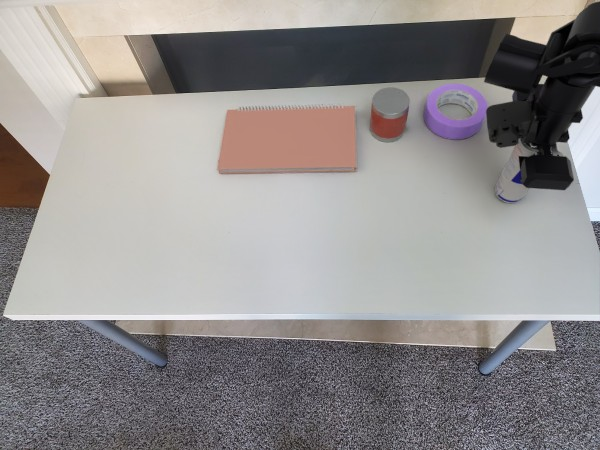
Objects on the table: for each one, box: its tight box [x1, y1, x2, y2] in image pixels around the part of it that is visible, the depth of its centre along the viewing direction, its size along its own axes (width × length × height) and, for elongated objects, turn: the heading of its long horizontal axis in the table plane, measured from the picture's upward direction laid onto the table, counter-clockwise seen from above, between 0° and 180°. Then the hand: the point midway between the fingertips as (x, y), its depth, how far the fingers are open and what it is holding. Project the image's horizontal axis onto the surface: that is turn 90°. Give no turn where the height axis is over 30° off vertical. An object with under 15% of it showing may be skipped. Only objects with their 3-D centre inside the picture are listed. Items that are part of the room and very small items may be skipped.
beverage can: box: [494, 137, 538, 204], centre depth 74 cm, size 5×5×15 cm
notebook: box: [216, 103, 358, 175], centre depth 91 cm, size 27×17×2 cm, turn 88°
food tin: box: [369, 86, 411, 143], centre depth 87 cm, size 7×7×8 cm
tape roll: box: [423, 83, 489, 140], centre depth 89 cm, size 12×12×4 cm
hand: (521, 167), depth 74 cm, fingers closed on beverage can, 5 cm apart
